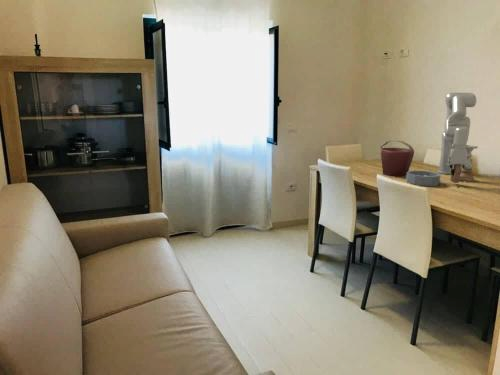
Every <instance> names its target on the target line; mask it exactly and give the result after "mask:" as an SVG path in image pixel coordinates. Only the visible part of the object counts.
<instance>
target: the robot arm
mask: <svg viewBox="0 0 500 375" xmlns="http://www.w3.org/2000/svg"><path fill="white" fill-rule="evenodd" d="M476 104H477V97H476V94H474V93H472V92H447V94H446V95H445V106H446V118H445V122H444V131H443V132H442V134H441V149H440V150H441V151H440V158H439V166H438V169H436V172H435V173H438V174H440V175H442V174H443V175H450V176H451V175H454V172H455V169H454V167H455V165H456V164H461V169H462V168H464V167H465V166H467V165H468V164H467V150H466V148H467V147H468V144H467V143H468V141H469V135H470V127H471V118H470V117H469V116H467V108H474V107H475V106H476ZM461 173H462V172H461V171H460V174H461Z"/></svg>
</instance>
